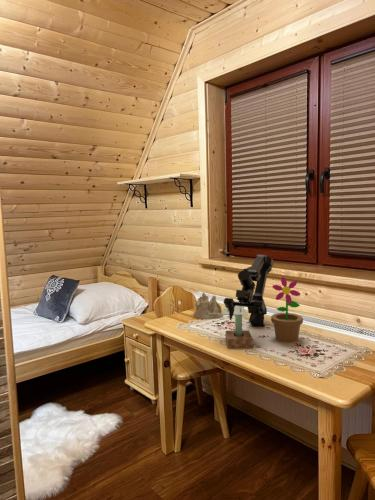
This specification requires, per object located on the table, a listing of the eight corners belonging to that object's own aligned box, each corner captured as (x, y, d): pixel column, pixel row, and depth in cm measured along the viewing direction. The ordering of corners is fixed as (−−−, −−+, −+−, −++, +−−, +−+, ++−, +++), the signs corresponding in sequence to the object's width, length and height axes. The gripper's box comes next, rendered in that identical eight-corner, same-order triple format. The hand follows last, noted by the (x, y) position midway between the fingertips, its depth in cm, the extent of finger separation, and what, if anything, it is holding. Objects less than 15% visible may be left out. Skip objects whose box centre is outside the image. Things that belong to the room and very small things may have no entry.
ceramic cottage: (223, 318, 205) (222, 291, 204) (194, 320, 205) (192, 293, 205) (221, 312, 221) (220, 287, 220) (194, 314, 221) (192, 289, 220)
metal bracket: (222, 300, 224) (247, 300, 222) (222, 308, 227) (247, 308, 225) (221, 313, 211) (247, 313, 209) (221, 321, 213) (247, 322, 211)
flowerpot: (269, 342, 168) (269, 277, 165) (273, 332, 182) (273, 272, 178) (301, 345, 163) (302, 278, 160) (303, 334, 177) (304, 273, 173)
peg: (239, 341, 170) (239, 314, 168) (243, 343, 167) (243, 315, 166) (234, 342, 169) (233, 315, 167) (237, 344, 166) (237, 316, 165)
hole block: (249, 338, 173) (249, 330, 173) (252, 347, 162) (252, 338, 162) (225, 339, 174) (225, 330, 173) (227, 347, 163) (227, 339, 162)
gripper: (224, 281, 175) (215, 309, 167) (263, 284, 167) (255, 314, 158) (230, 293, 183) (222, 321, 175) (267, 297, 174) (261, 326, 166)
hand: (239, 320), depth 168 cm, fingers open, 9 cm apart
